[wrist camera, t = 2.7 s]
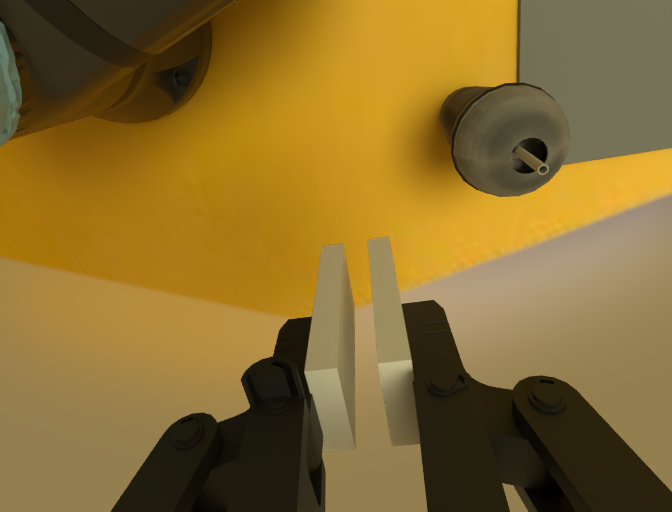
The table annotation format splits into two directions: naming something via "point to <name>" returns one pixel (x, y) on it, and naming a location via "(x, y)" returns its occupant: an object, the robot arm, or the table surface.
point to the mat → (602, 71)
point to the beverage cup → (505, 137)
